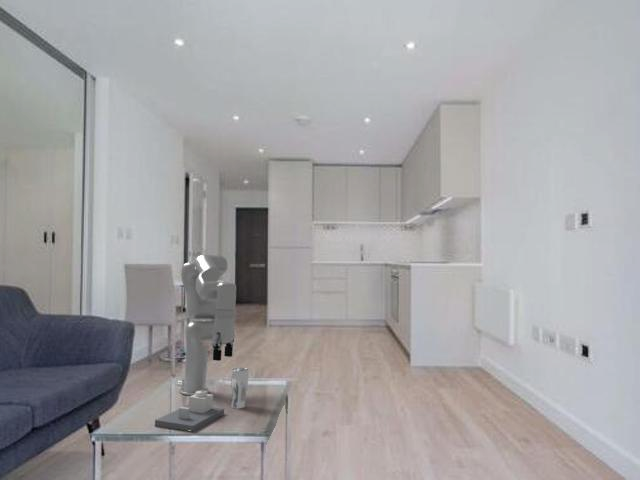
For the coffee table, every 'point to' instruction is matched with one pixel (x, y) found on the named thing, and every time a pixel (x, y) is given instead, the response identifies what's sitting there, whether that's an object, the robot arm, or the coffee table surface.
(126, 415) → the coffee table surface
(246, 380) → the beer glass
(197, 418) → the flat gray board
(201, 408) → the knob
